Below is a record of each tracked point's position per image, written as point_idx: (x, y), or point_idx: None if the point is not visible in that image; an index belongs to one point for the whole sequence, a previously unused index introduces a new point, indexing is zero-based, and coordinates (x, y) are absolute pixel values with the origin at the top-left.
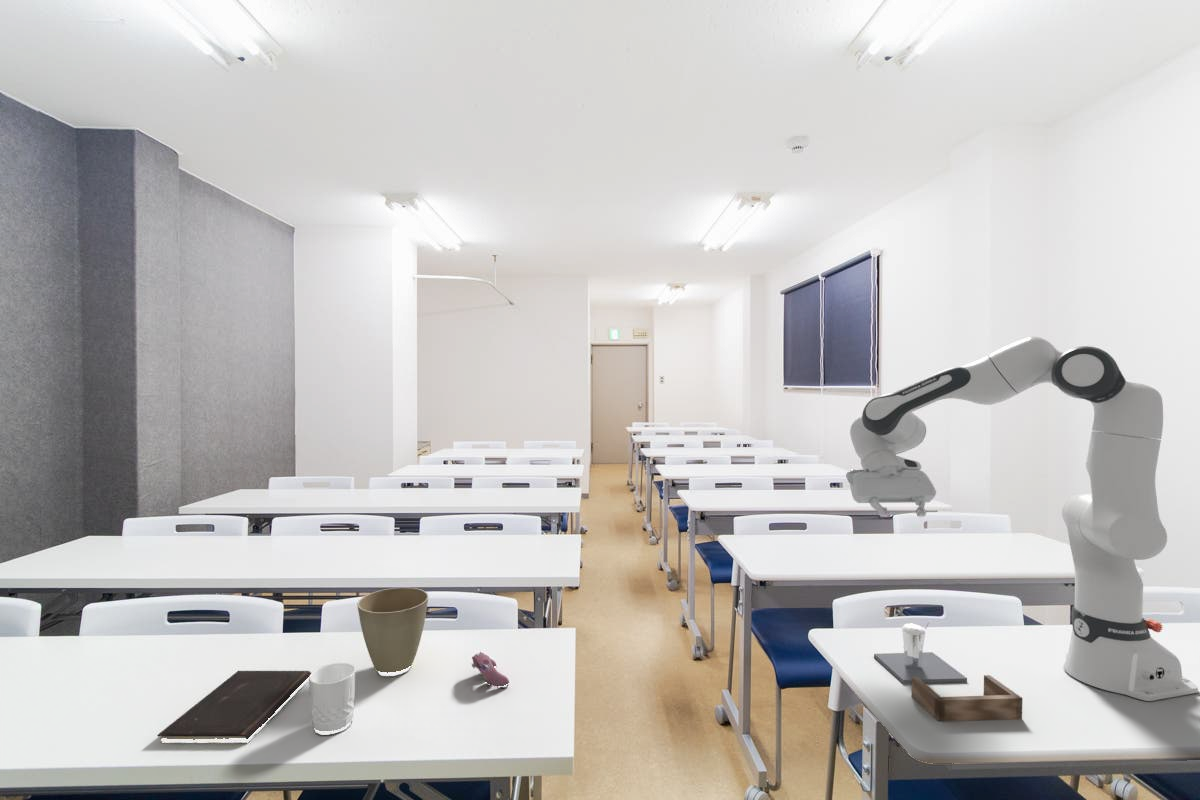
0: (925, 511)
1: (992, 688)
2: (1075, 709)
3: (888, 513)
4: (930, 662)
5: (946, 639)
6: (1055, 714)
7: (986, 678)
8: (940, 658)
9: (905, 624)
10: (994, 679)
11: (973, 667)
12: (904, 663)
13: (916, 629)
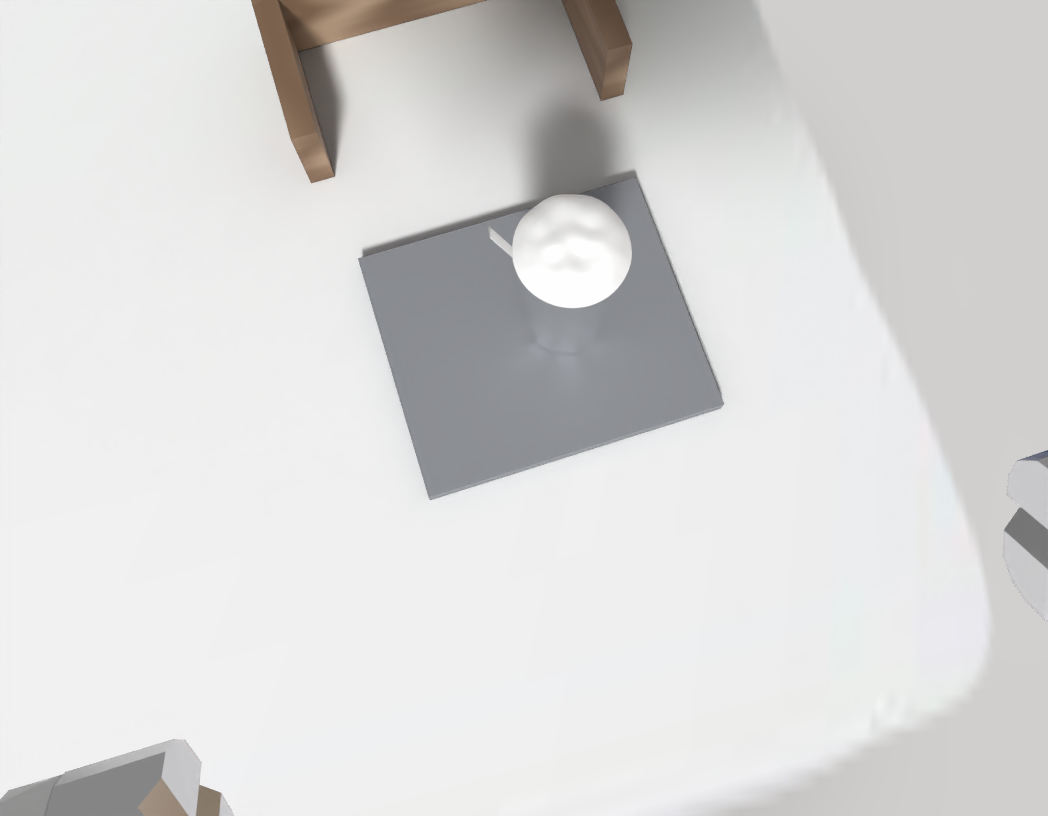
0: (2, 809)
1: (310, 104)
2: (31, 149)
3: (1024, 464)
4: (472, 374)
5: (283, 747)
6: (130, 96)
7: (314, 122)
8: (410, 432)
9: (614, 254)
10: (287, 104)
11: (275, 417)
12: (597, 334)
13: (567, 199)
